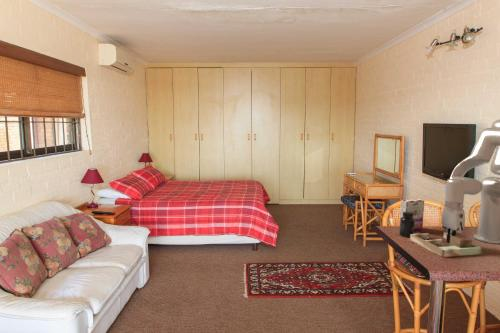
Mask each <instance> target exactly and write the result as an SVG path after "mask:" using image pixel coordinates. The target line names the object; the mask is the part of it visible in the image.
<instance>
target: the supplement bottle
mask: <svg viewBox="0 0 500 333" xmlns="http://www.w3.org/2000/svg"><path fill="white" fill-rule="evenodd" d="M400 217H401V216H400ZM412 217H413V213H412V212H403V217H401V219H400V221H399V232H398V233H399V235H400V236H402V237H404V238H410V234H415V230H414V225H415V220H414V218H412Z"/></svg>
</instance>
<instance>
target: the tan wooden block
mask: <svg viewBox="0 0 500 333" xmlns="http://www.w3.org/2000/svg"><path fill="white" fill-rule="evenodd" d="M471 244H473V239H471V238H469V237H466V236H464V235H462V234H460V235H455V236H450V243H449V246H457V247H459V248H470V247H471Z"/></svg>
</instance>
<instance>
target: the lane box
mask: <svg viewBox="0 0 500 333" xmlns="http://www.w3.org/2000/svg"><path fill="white" fill-rule="evenodd" d="M442 237H443V239H445V240H446V239H447V234H446V231H444V232H443V236H442ZM426 239H429V240H426ZM443 239H441V238H439V239H438V238H437V239H436V238H435V239H430V233H429V232H425V233H424V232H423V233H414V234H410V237H409V240H410V242H412V243H414V242H415V243H414V244H416V243H417V244H416V245H419V246H421V247H422V248H424V249H426V250H428V251H430V252H432V253H434V254H435V255H437V256H440V257H441V258H446V257H447V258H448V257H461V250H462V249H460V248H456V249H441V248H439V247H437V246H442V247H443Z"/></svg>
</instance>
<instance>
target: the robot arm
mask: <svg viewBox="0 0 500 333" xmlns="http://www.w3.org/2000/svg"><path fill="white" fill-rule="evenodd" d="M490 162H491V164H490V167H489V170H490V172H491V174H495V175H497V177H496V176H486V177H484V178H483V179H482V180H481V181H480V180H478V179H476V178H471V177H466V176H465V175H466V174H467V172H469V171H470V170H472V169H473V168H477V167H480V166H484V165H486V164H489V163H490ZM498 176H500V119H496V120H495V121H493V122H492V124H491V127H486V128H483V129H481V131H480V132H479V134H478V136H477V139H476V142H475V143H474V146H473V148H472V150H471V152H470V154H469V155H468V156H467V157H465V158H464V159H462V160H461V161H460V162H459V163H458V164H457V165H456V166H455V167H454V169H453V170H452V172H451V174H450V177H449V178H448V179H447V180H446V184H445V185H446V186H445V195H444V196H445V198H444V206H443V209H442V213H441V218H440V219H441V221H440V224H441V226H442V228H443V229H444V230H445V232H446V234H447V239H445V240H446V241H445V243H448V244H450V236H458V235H459V234H460V235H462V231H465V227H466V225H465V224H466V216H465V209H464V207H465V206H464V201H465V200H464V198H465V195H470V196H472V195H473V196H474V195H478V194H479V193H480V208H479V216H478V228H477V233H474V234H473V238H474V239H476V240H478V241H480V242H483V243H489V244H497V245H498V244H500V177H498Z"/></svg>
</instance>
